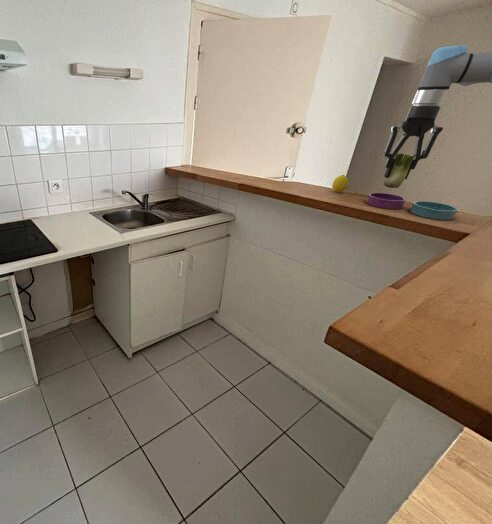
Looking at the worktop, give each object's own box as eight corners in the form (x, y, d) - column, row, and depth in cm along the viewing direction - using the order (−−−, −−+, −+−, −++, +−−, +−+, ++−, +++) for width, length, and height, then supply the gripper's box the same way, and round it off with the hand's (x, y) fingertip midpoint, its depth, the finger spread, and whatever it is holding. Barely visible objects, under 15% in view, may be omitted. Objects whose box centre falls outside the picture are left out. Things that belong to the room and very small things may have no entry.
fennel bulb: (402, 189, 102) (417, 155, 96) (387, 189, 103) (401, 154, 97) (393, 186, 107) (407, 152, 101) (378, 185, 108) (392, 152, 102)
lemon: (344, 192, 125) (351, 174, 121) (343, 195, 121) (350, 176, 117) (330, 191, 127) (336, 172, 124) (329, 193, 124) (335, 175, 120)
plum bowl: (397, 203, 111) (401, 194, 109) (406, 211, 102) (410, 202, 100) (363, 200, 115) (366, 191, 113) (368, 207, 106) (372, 198, 105)
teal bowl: (444, 212, 101) (449, 203, 99) (458, 223, 92) (464, 213, 90) (405, 208, 105) (409, 199, 103) (415, 218, 96) (420, 208, 95)
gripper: (456, 105, 92) (421, 177, 103) (389, 105, 98) (364, 173, 110) (467, 105, 86) (429, 182, 97) (395, 105, 92) (368, 177, 104)
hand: (395, 177), depth 103 cm, fingers closed on fennel bulb, 5 cm apart
